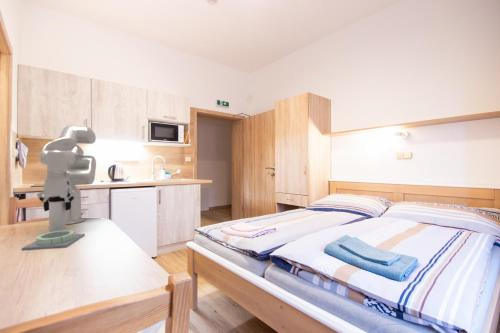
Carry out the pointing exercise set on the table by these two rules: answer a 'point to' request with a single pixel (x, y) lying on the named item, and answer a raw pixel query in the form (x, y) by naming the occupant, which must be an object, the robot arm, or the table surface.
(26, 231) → the table surface
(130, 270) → the table surface
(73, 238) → the cup dock
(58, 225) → the travel mug
